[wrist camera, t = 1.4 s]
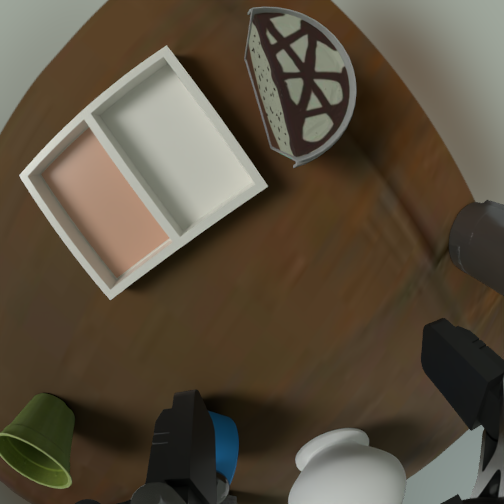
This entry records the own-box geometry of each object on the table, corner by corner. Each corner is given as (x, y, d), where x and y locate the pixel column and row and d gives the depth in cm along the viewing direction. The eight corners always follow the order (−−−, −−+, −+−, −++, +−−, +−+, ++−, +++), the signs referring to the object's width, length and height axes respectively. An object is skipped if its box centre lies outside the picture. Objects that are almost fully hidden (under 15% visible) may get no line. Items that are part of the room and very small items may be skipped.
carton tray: (171, 54, 26) (166, 45, 23) (263, 183, 30) (268, 186, 27) (33, 172, 27) (19, 175, 24) (118, 287, 32) (110, 300, 29)
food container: (333, 149, 30) (381, 150, 20) (274, 163, 30) (300, 169, 20) (300, 34, 26) (333, -7, 17) (240, 45, 26) (250, 1, 16)
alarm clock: (192, 381, 36) (186, 483, 22) (237, 397, 38) (249, 495, 24) (159, 438, 39) (149, 524, 25) (198, 450, 41) (198, 535, 27)
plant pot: (42, 431, 38) (20, 480, 27) (10, 376, 34) (-23, 425, 24) (101, 439, 39) (85, 495, 28) (73, 382, 35) (44, 442, 25)
